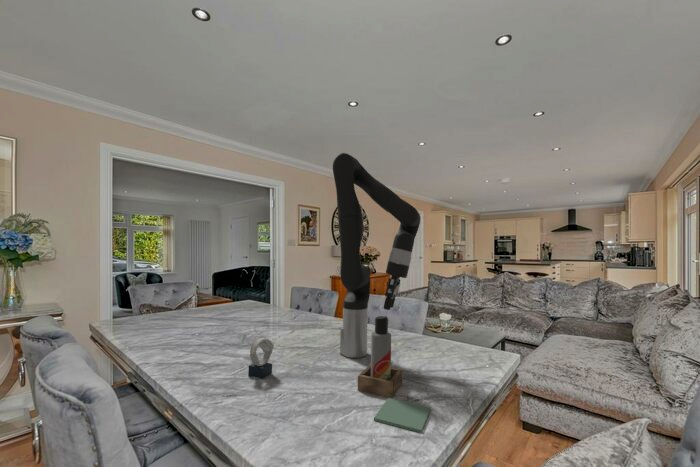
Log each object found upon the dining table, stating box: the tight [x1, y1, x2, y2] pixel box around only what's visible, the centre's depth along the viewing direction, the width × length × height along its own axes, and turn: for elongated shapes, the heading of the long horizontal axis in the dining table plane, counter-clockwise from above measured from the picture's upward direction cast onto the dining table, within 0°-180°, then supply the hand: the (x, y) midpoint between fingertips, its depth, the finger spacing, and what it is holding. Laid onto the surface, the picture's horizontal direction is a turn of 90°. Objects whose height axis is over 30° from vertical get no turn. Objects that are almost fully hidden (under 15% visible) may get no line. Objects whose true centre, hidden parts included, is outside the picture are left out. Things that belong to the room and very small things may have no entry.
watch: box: [247, 337, 275, 380], centre depth 99 cm, size 6×8×11 cm
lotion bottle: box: [370, 315, 392, 381], centre depth 92 cm, size 6×6×20 cm
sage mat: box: [373, 397, 432, 434], centre depth 76 cm, size 11×11×1 cm
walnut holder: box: [357, 363, 403, 399], centre depth 91 cm, size 10×10×4 cm
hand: (388, 308), depth 111 cm, fingers open, 8 cm apart
